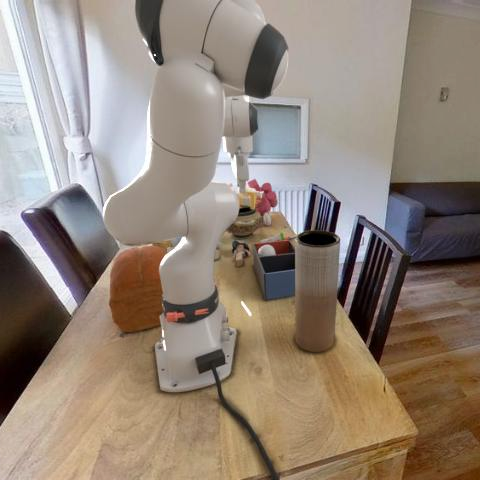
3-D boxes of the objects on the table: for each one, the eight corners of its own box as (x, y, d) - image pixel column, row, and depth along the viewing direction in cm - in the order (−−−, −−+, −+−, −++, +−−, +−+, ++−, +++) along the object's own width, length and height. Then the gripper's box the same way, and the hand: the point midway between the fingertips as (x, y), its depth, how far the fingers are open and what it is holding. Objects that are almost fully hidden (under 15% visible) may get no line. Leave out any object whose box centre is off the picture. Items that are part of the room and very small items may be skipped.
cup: (256, 237, 121) (294, 230, 123) (258, 236, 129) (293, 230, 131) (260, 257, 122) (297, 249, 124) (262, 254, 130) (297, 248, 131)
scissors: (304, 233, 147) (304, 230, 146) (280, 249, 129) (280, 245, 129) (290, 231, 150) (290, 228, 149) (265, 246, 132) (265, 242, 132)
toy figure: (254, 265, 116) (248, 247, 128) (251, 250, 113) (245, 234, 126) (234, 269, 114) (231, 251, 127) (231, 254, 111) (228, 238, 124)
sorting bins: (308, 293, 98) (309, 268, 95) (264, 300, 94) (263, 274, 90) (290, 261, 119) (290, 239, 116) (253, 265, 115) (252, 243, 111)
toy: (264, 238, 169) (288, 226, 172) (256, 219, 141) (285, 205, 143) (241, 197, 176) (265, 185, 178) (229, 170, 147) (257, 157, 150)
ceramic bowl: (224, 233, 151) (213, 205, 144) (258, 221, 156) (249, 193, 149) (232, 253, 130) (220, 221, 123) (272, 238, 135) (262, 207, 128)
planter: (325, 323, 84) (329, 228, 74) (340, 347, 76) (348, 243, 65) (290, 331, 81) (289, 232, 70) (302, 357, 72) (303, 248, 62)
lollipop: (284, 271, 114) (268, 261, 101) (270, 268, 116) (252, 258, 102) (289, 255, 116) (273, 243, 102) (275, 253, 118) (258, 241, 104)
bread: (174, 276, 105) (167, 233, 99) (184, 320, 84) (176, 268, 78) (119, 287, 98) (107, 241, 92) (114, 338, 76) (99, 282, 70)
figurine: (217, 236, 141) (216, 224, 138) (171, 257, 120) (169, 243, 118) (196, 230, 146) (194, 218, 143) (148, 249, 125) (146, 236, 123)
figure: (214, 200, 139) (213, 180, 136) (251, 197, 149) (252, 178, 146) (227, 212, 126) (227, 190, 123) (267, 208, 136) (268, 187, 133)
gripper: (252, 149, 88) (255, 196, 93) (245, 142, 106) (247, 182, 111) (229, 149, 86) (233, 198, 91) (226, 142, 104) (229, 183, 109)
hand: (241, 189), depth 101 cm, fingers open, 8 cm apart
